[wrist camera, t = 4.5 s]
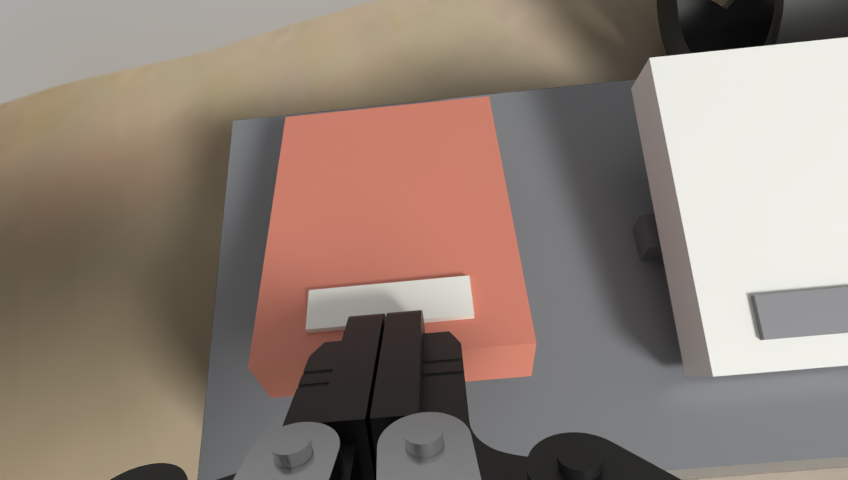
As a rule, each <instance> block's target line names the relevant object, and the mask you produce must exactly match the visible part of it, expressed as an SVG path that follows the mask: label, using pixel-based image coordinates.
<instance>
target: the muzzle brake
mask: <svg viewBox="0 0 848 480" xmlns="http://www.w3.org/2000/svg"><path fill="white" fill-rule="evenodd" d="M657 10H658V20H659V26H660V31H661V36H662V41H663V44H664V47H665V50H666V54H667V56H671V55H681V54H691V53H700V52H710V51H719V50H729V49H739V48H748V47H758V46H768V45H777V44H787V43H796V42H806V41H816V40H825V39H835V38H845V37H848V0H729V1H728V2H727V3H726V5H725V6H724V7H721V6H720V5H718V4H716V3H715V2H713V1H711V0H657Z"/></svg>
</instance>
